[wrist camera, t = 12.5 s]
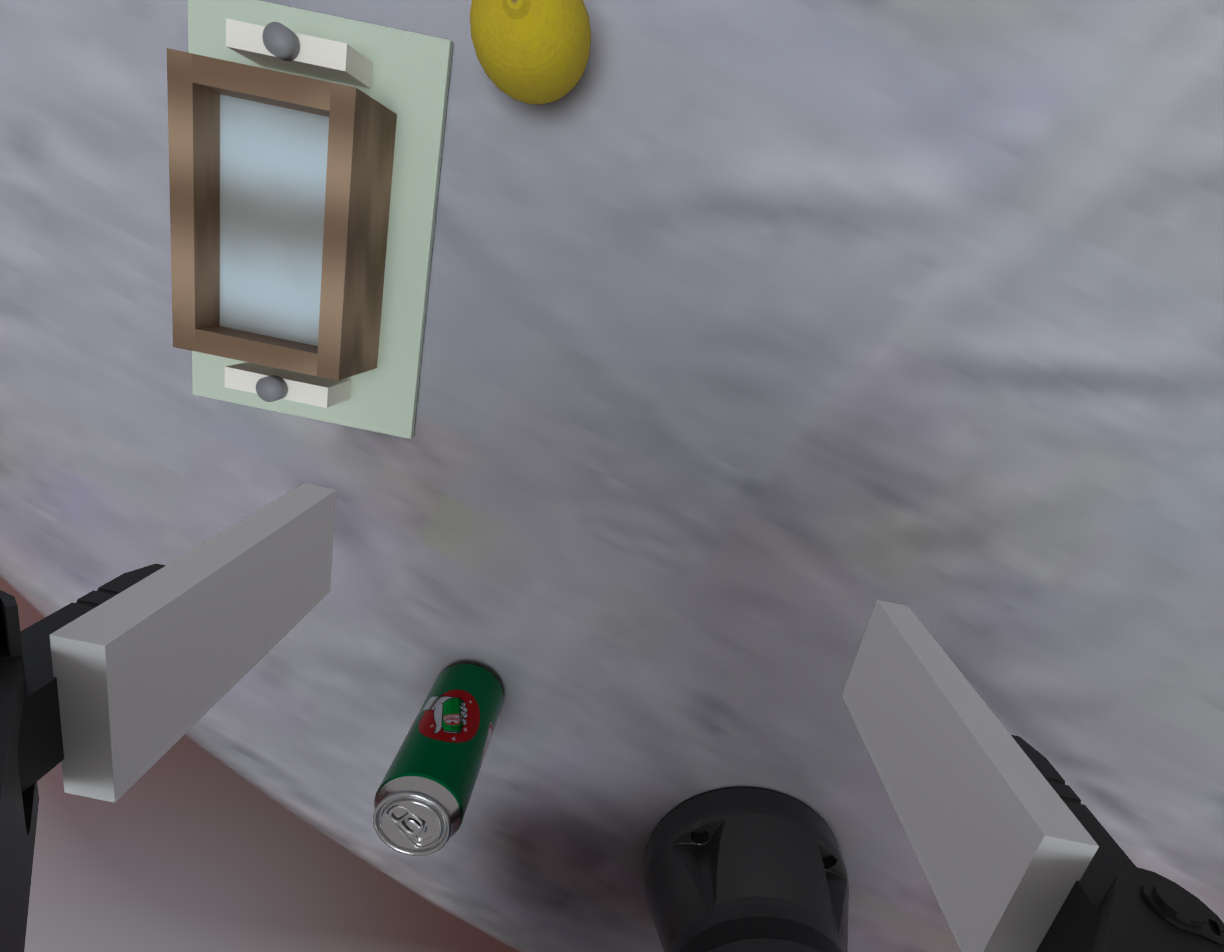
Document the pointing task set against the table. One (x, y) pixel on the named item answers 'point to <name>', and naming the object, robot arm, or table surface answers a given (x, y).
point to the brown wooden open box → (277, 216)
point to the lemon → (531, 46)
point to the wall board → (417, 92)
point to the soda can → (438, 762)
